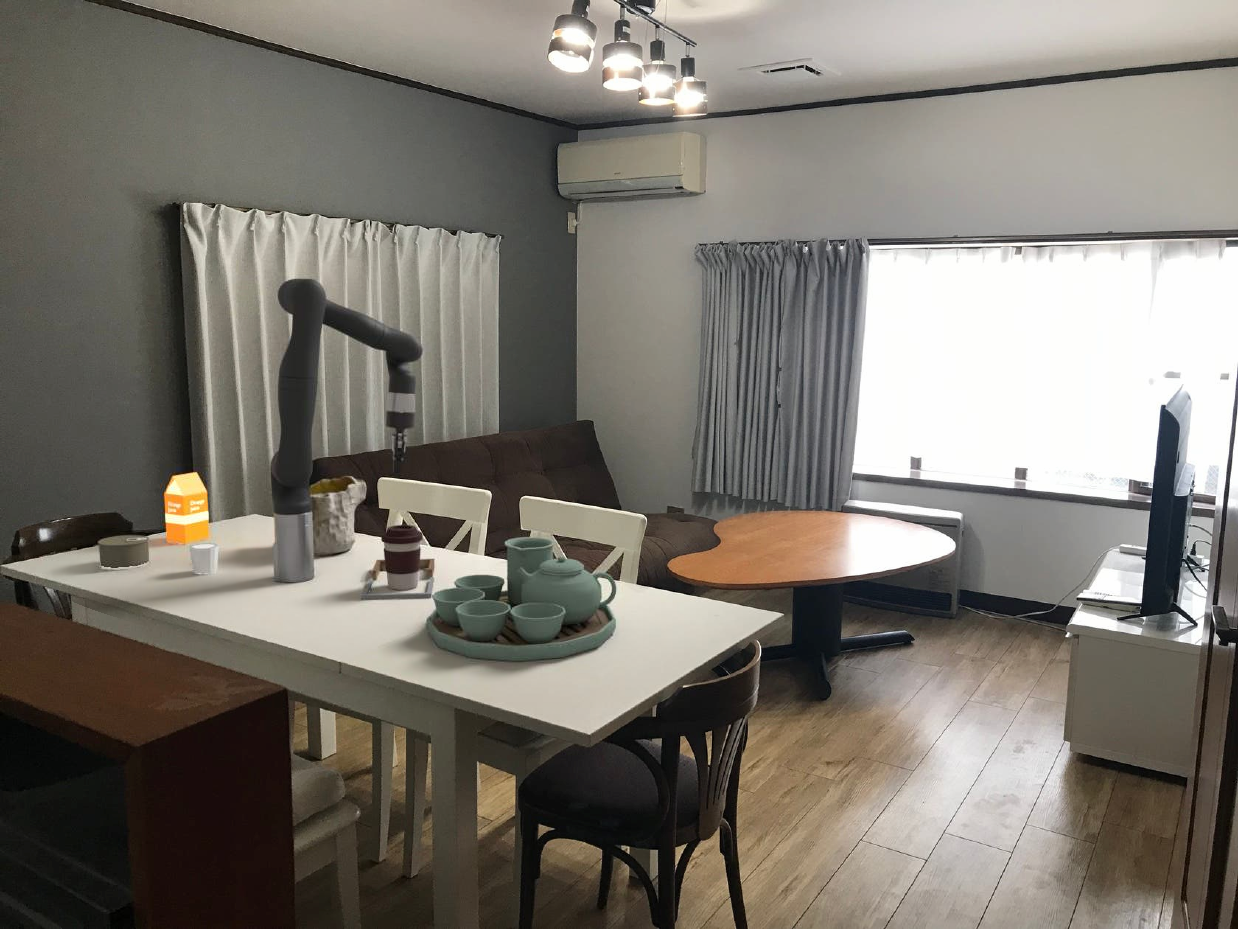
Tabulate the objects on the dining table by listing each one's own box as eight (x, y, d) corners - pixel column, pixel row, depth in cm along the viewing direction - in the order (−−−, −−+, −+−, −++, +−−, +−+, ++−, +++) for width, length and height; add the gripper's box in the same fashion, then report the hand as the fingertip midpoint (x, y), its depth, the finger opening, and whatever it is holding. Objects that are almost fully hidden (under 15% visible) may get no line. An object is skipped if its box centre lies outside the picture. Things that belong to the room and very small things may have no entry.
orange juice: (209, 539, 286) (206, 472, 283) (185, 545, 278) (182, 477, 275) (190, 536, 289) (187, 470, 286) (166, 542, 281) (162, 474, 278)
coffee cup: (399, 594, 230) (398, 533, 228) (374, 587, 237) (372, 527, 234) (431, 586, 238) (430, 527, 236) (405, 579, 244) (404, 521, 242)
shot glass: (206, 576, 244) (205, 550, 243) (184, 574, 246) (183, 547, 245) (225, 570, 250) (224, 544, 249) (204, 567, 252) (203, 542, 251)
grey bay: (362, 599, 226) (361, 595, 226) (369, 582, 241) (369, 578, 240) (431, 597, 228) (430, 593, 228) (434, 581, 243) (433, 577, 243)
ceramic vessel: (245, 530, 259) (276, 452, 271) (289, 568, 279) (317, 494, 292) (318, 535, 253) (347, 455, 265) (358, 574, 273) (384, 497, 285)
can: (100, 562, 257) (98, 537, 256) (149, 557, 263) (148, 533, 262) (99, 572, 247) (97, 546, 246) (150, 567, 252) (149, 542, 251)
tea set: (403, 620, 212) (401, 547, 210) (564, 596, 232) (564, 530, 230) (468, 678, 178) (468, 592, 176) (651, 644, 198) (652, 567, 196)
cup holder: (372, 580, 243) (372, 570, 242) (377, 569, 254) (376, 559, 253) (432, 579, 245) (432, 569, 244) (434, 567, 256) (434, 558, 256)
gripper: (385, 408, 263) (382, 471, 264) (387, 409, 251) (383, 475, 252) (413, 410, 265) (409, 472, 266) (416, 411, 253) (412, 477, 254)
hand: (397, 474), depth 259 cm, fingers closed
